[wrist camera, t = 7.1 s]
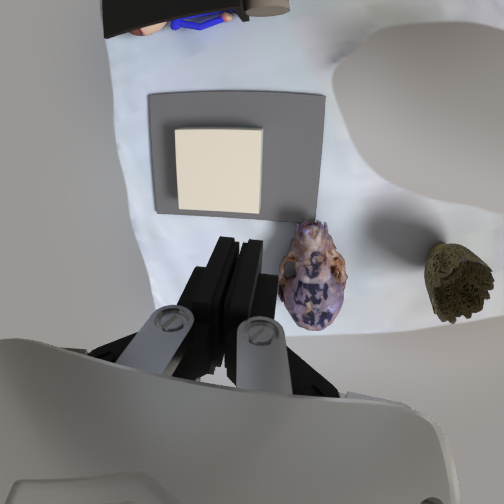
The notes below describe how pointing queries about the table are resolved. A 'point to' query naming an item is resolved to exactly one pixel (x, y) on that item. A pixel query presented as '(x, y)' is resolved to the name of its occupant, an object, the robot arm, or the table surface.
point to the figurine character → (180, 13)
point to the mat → (274, 147)
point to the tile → (219, 168)
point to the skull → (313, 277)
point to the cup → (456, 281)
